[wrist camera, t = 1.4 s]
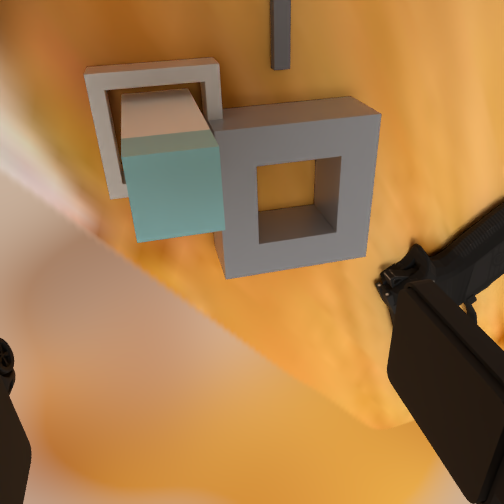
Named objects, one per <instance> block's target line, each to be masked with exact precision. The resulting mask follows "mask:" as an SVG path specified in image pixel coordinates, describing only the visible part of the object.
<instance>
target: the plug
mask: <svg viewBox="0 0 504 504" xmlns="http://www.w3.org/2000/svg"><path fill="white" fill-rule="evenodd" d="M121 159H122V164H123V170H124V175H125V180H126V185H127V191H128V196H129V201H130V206H131V212H132V217H133V222H134V227H135V233H136V238H137V243H140V242H147V241H154V240H161V239H168V238H175V237H182V236H189V235H195V234H202V233H209V232H216V231H223V230H225V218H224V205H223V191H222V178H221V164H220V151H219V145H218V143H217V141H216V140H215V138H214V136H213V134H212V132H211V130H210V128H209V126H208V125H207V123H206V121H205V119H204V117H203V115H202V113H201V111H200V110H199V108H198V106H197V104H196V102H195V100H194V98H193V97H192V95H191V93H190V91H189V89H188V88H184V89H173V90H162V91H150V92H139V93H128V94H121Z"/></svg>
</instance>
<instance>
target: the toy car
mask: <svg viewBox="0 0 504 504" xmlns="http://www.w3.org/2000/svg"><path fill="white" fill-rule="evenodd" d="M13 367H14V356H13V352H12V350H11V348H10V346H9V345H8V343H7V342H6V341H5V340H4V339H1V338H0V376H1V378H2V381H3V383H4V385H5V388H6V390H7V392H8V395H10V393H11V390H12V388H13V385H14V382H15V371H14V369H13Z"/></svg>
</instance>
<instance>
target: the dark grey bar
mask: <svg viewBox="0 0 504 504" xmlns="http://www.w3.org/2000/svg"><path fill="white" fill-rule="evenodd" d="M270 18H271V68H272V69H273V70H283V69H290V32H291V0H270Z"/></svg>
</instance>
